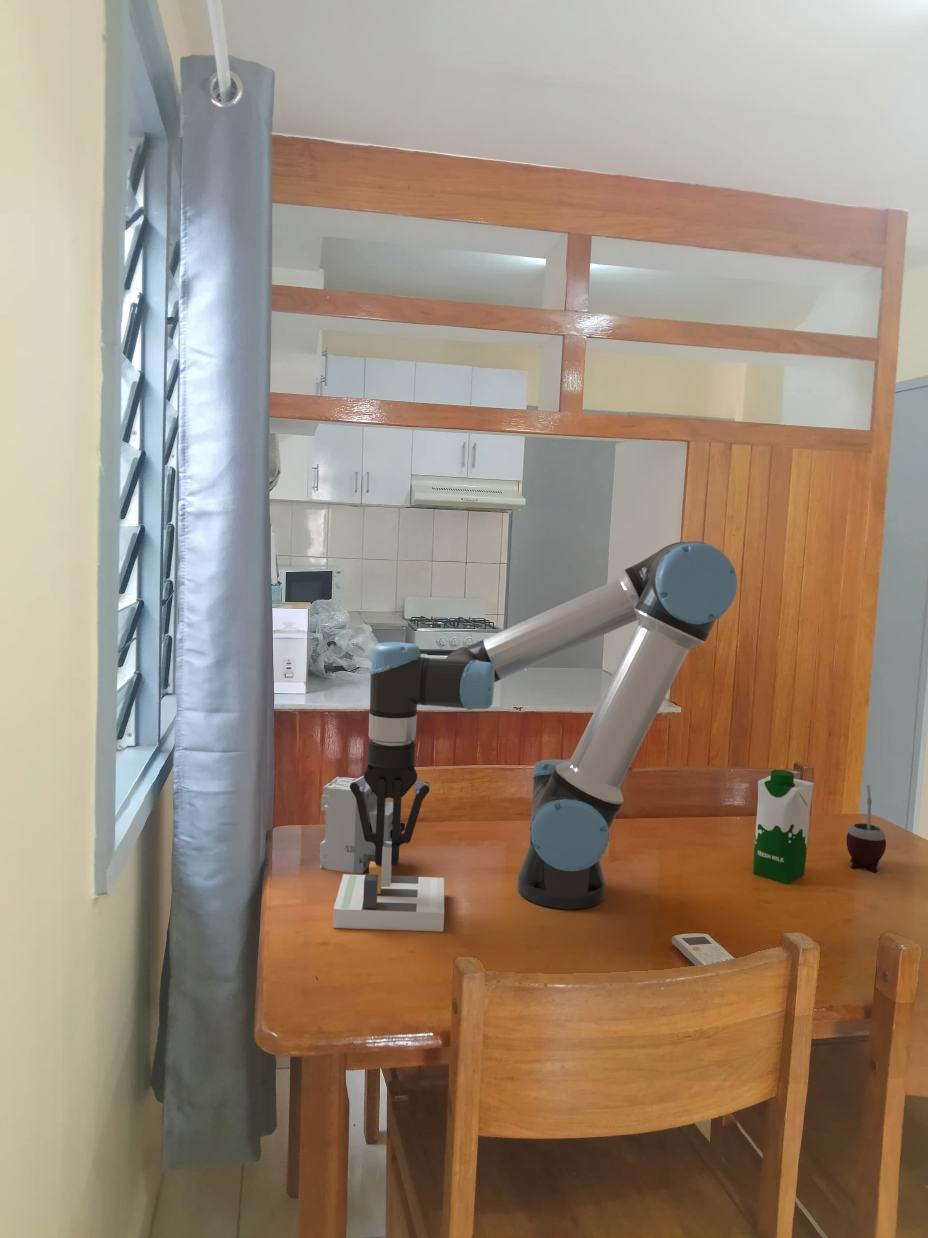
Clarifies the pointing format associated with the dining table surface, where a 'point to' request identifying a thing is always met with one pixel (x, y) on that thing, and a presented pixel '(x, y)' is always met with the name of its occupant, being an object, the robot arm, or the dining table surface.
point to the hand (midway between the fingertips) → (385, 883)
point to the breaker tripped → (376, 873)
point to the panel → (392, 904)
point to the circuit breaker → (349, 827)
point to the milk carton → (782, 826)
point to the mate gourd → (866, 843)
